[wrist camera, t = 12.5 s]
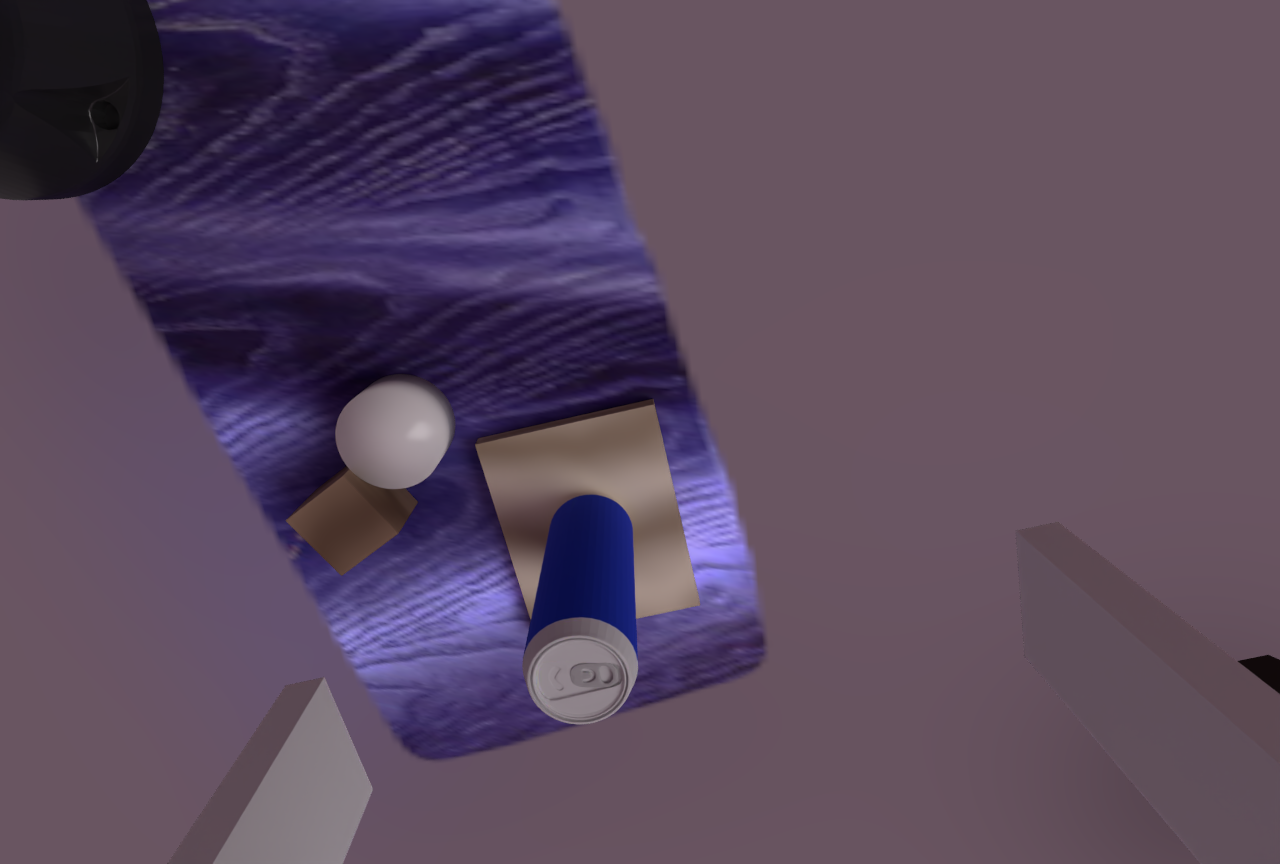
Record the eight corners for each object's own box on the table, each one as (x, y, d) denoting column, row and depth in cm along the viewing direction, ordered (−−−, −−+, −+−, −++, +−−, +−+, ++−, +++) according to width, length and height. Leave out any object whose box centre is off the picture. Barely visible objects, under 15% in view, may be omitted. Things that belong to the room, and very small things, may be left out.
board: (478, 438, 46) (474, 444, 45) (653, 398, 45) (654, 404, 44) (538, 629, 50) (536, 639, 49) (698, 595, 50) (700, 605, 49)
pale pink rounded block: (341, 386, 45) (319, 402, 41) (437, 363, 44) (422, 378, 41) (375, 476, 47) (357, 499, 43) (468, 455, 46) (456, 476, 43)
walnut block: (315, 489, 47) (285, 520, 43) (368, 448, 46) (343, 475, 42) (366, 540, 48) (341, 575, 44) (418, 501, 47) (398, 533, 43)
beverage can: (556, 569, 48) (529, 735, 33) (544, 495, 46) (510, 636, 32) (637, 560, 47) (644, 723, 33) (628, 486, 46) (631, 624, 32)
